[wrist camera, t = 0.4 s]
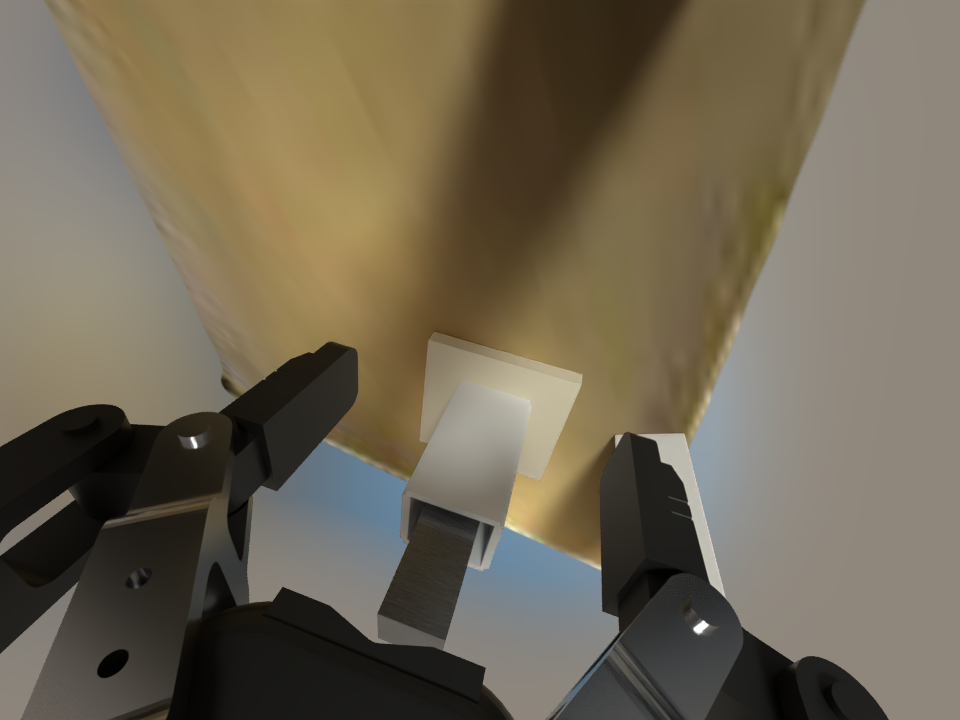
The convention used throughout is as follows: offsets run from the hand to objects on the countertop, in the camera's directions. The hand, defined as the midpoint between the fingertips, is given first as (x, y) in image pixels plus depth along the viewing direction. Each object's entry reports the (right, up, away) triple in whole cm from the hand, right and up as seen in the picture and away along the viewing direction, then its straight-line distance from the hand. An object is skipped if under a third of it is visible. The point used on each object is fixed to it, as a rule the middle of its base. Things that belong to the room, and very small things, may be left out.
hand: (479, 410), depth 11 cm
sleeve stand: (+1, -3, +27) cm, 27 cm away
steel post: (+1, -4, +26) cm, 26 cm away
